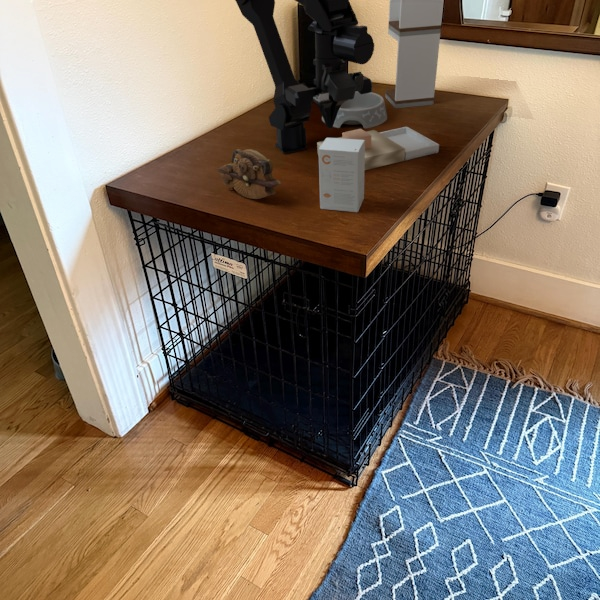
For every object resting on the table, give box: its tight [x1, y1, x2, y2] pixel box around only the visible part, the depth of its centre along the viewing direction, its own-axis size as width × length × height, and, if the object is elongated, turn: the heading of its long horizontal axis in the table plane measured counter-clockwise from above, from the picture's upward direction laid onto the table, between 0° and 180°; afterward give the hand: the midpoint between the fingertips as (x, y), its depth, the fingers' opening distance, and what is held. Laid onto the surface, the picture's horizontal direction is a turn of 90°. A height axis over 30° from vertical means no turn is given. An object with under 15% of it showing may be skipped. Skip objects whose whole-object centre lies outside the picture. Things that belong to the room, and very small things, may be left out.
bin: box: [379, 126, 440, 161], centre depth 139 cm, size 9×14×2 cm
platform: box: [316, 129, 405, 171], centre depth 134 cm, size 16×14×3 cm
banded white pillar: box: [384, 0, 444, 109], centre depth 156 cm, size 11×11×35 cm
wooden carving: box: [217, 148, 282, 200], centre depth 119 cm, size 16×5×10 cm, turn 55°
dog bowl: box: [321, 91, 388, 129], centre depth 156 cm, size 17×18×5 cm
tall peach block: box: [341, 128, 371, 149], centre depth 132 cm, size 5×5×3 cm
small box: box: [318, 137, 365, 213], centre depth 113 cm, size 8×6×13 cm
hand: (329, 128), depth 128 cm, fingers closed
